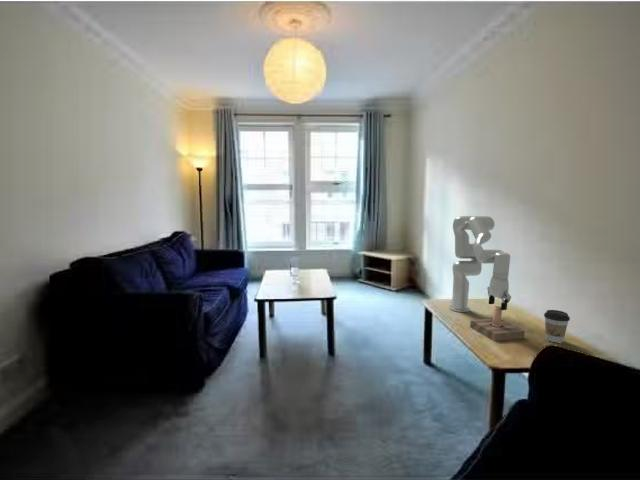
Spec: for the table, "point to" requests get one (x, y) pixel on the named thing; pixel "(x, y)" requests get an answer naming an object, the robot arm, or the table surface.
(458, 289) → the robot arm
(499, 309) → the peg
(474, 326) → the board
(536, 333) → the table surface
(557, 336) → the coffee cup
